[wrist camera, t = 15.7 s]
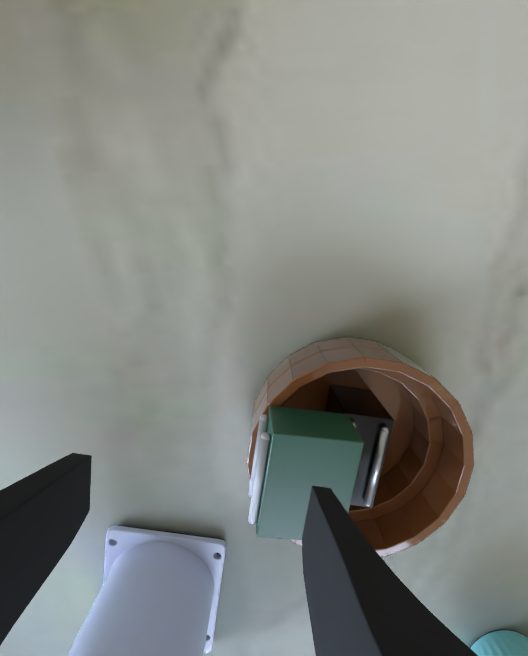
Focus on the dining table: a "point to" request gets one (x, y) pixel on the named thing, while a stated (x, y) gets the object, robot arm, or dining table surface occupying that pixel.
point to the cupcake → (501, 644)
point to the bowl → (405, 440)
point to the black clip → (364, 436)
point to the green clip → (300, 467)
